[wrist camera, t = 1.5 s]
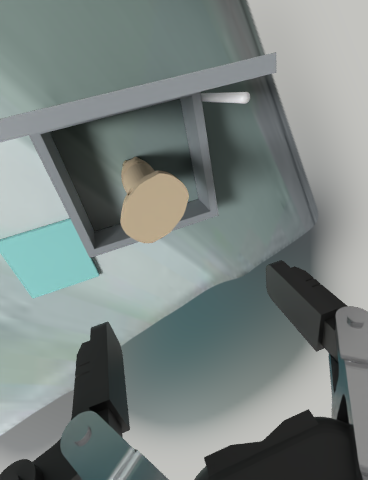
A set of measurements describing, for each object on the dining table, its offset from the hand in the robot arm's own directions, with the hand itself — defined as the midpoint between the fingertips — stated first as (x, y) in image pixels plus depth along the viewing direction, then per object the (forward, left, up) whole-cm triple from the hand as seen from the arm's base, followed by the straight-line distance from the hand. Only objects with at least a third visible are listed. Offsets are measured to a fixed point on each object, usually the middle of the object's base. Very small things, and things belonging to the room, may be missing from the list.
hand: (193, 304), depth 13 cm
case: (0, 0, -26) cm, 26 cm away
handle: (0, 0, -27) cm, 27 cm away
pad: (+9, -15, -26) cm, 31 cm away
